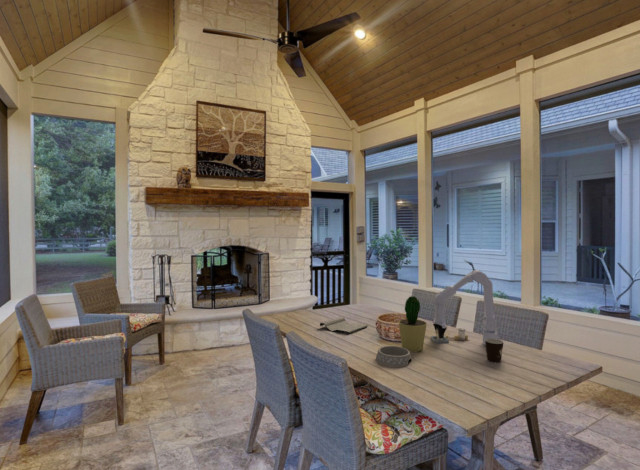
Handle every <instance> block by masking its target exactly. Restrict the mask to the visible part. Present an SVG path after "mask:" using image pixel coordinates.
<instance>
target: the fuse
mask: <svg viewBox="0 0 640 470" xmlns="http://www.w3.org/2000/svg"><path fill="white" fill-rule="evenodd" d="M457 329H458V331H457V333H458V334H457V335H458V336H459V340H465V335H466V328H463V327H462V328H461V327H459V328H457Z"/></svg>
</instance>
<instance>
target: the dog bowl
mask: <svg viewBox="0 0 640 470" xmlns="http://www.w3.org/2000/svg"><path fill="white" fill-rule="evenodd" d="M375 361H376V362H377V363H378V364H380V365H382V366H386V367H391V368H403V367H407V366H408V364H409V361H411V362H412V361H413V360H412V356H411V351H409V350H407V349H405V348H403V347H402V346H398V345H384V346H381V347H379V348H378V349H377V353H376V357H375Z"/></svg>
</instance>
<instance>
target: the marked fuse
mask: <svg viewBox="0 0 640 470" xmlns="http://www.w3.org/2000/svg"><path fill="white" fill-rule="evenodd" d="M435 334H436V335H435V336H436V339H435V340H444V339H443V338H439V333H438V329H436V331H435Z"/></svg>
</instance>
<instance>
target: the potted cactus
mask: <svg viewBox="0 0 640 470" xmlns="http://www.w3.org/2000/svg"><path fill="white" fill-rule="evenodd" d="M403 307H404V313H405V318H406V319H400V320H398V326H399V327H398V328H399V332H400V333H399V336H400V341H401V347H403V348H405V349H407V350H409V352H413V353H414V352H415V353H416V352H421V351H423V349H424V344H425V338H426V331H427V330H426V329H427V324H428V323H427V322H426V321H424V320H422V319H419V313H420V312H421V301H419V298H417V296H408V297H407V299H406V300H405V303H404V306H403Z"/></svg>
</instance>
